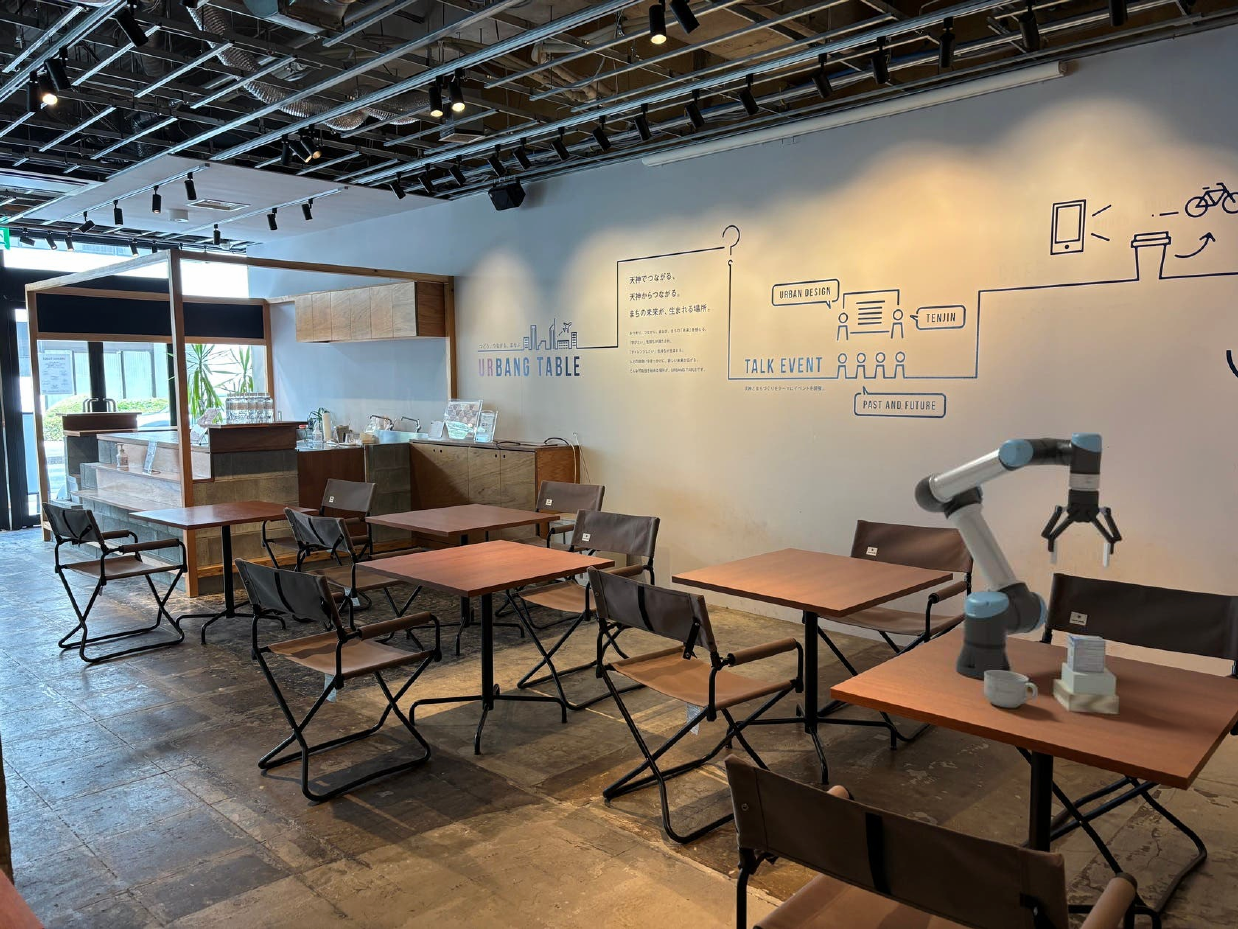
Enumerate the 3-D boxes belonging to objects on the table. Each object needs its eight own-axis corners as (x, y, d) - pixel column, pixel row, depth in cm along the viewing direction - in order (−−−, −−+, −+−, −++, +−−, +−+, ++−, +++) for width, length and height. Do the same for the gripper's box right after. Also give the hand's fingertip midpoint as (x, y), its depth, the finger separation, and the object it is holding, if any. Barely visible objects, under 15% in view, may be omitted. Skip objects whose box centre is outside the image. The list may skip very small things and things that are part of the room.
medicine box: (1097, 668, 232) (1099, 636, 231) (1104, 673, 227) (1106, 640, 227) (1066, 666, 233) (1068, 634, 232) (1072, 671, 229) (1074, 639, 228)
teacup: (973, 700, 233) (975, 670, 233) (1003, 695, 237) (1005, 666, 237) (1016, 718, 220) (1017, 687, 220) (1046, 712, 225) (1048, 682, 224)
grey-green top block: (1073, 693, 227) (1074, 674, 226) (1061, 680, 236) (1062, 662, 236) (1114, 696, 225) (1116, 677, 224) (1101, 683, 234) (1102, 665, 234)
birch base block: (1068, 713, 226) (1069, 694, 226) (1052, 697, 238) (1053, 679, 238) (1117, 716, 224) (1119, 697, 224) (1099, 700, 236) (1100, 682, 236)
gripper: (1040, 489, 239) (1036, 565, 241) (1138, 492, 235) (1133, 569, 237) (1031, 486, 246) (1027, 560, 248) (1127, 489, 242) (1122, 564, 244)
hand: (1079, 565), depth 242 cm, fingers open, 13 cm apart
